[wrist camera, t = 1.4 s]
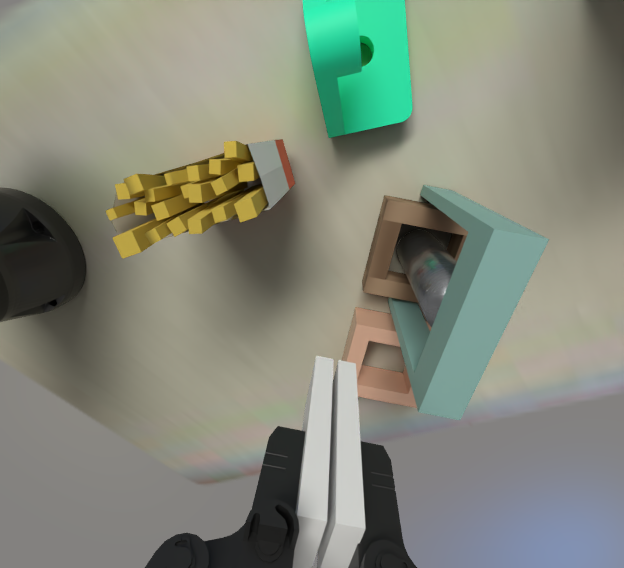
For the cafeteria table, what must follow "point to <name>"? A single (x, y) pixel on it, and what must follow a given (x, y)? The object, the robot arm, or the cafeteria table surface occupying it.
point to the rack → (373, 379)
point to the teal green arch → (466, 306)
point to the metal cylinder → (426, 269)
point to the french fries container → (200, 194)
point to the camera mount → (359, 62)
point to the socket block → (386, 238)
